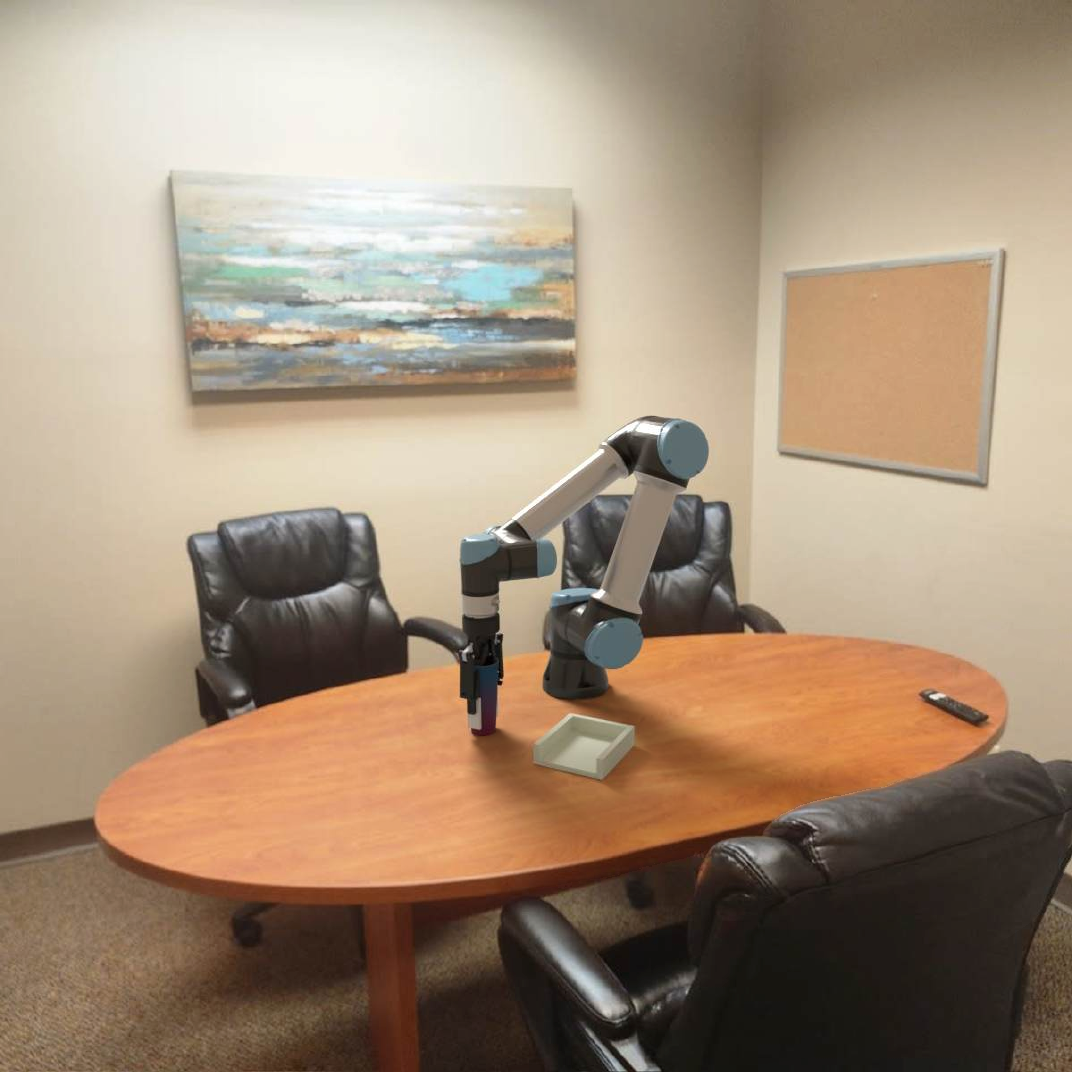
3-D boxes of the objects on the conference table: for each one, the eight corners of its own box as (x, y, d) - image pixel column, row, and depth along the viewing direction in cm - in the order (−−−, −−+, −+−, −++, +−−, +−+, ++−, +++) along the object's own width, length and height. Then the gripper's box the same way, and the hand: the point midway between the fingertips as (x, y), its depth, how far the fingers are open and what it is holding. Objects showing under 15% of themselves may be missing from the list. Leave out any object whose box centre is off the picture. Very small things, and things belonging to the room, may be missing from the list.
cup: (460, 733, 179) (458, 663, 176) (477, 720, 185) (476, 652, 182) (489, 739, 176) (487, 668, 173) (506, 726, 182) (505, 657, 179)
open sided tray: (533, 763, 166) (533, 743, 165) (570, 731, 180) (570, 712, 179) (602, 780, 160) (602, 759, 159) (634, 745, 174) (634, 726, 173)
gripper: (471, 629, 165) (474, 743, 170) (520, 602, 182) (521, 707, 187) (438, 623, 169) (442, 736, 173) (488, 598, 185) (490, 701, 190)
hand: (483, 721), depth 180 cm, fingers closed on cup, 6 cm apart
